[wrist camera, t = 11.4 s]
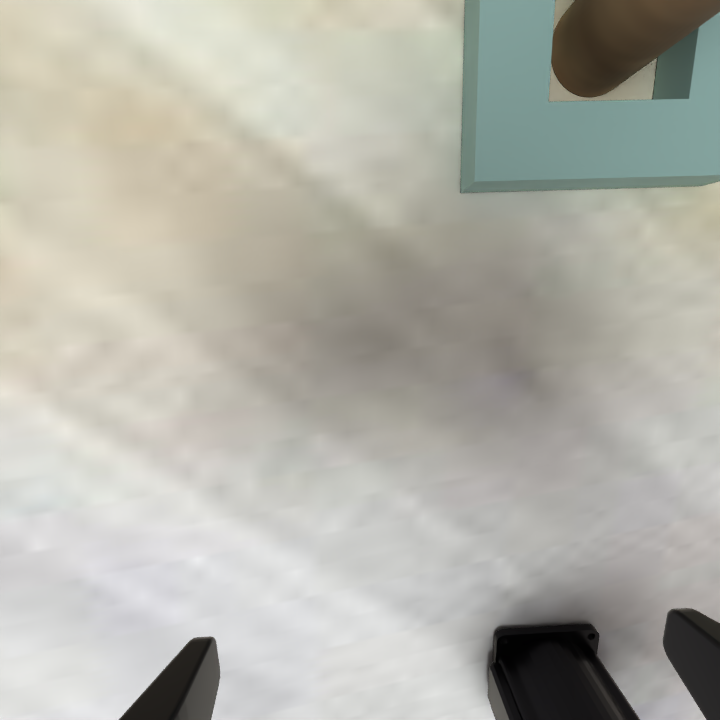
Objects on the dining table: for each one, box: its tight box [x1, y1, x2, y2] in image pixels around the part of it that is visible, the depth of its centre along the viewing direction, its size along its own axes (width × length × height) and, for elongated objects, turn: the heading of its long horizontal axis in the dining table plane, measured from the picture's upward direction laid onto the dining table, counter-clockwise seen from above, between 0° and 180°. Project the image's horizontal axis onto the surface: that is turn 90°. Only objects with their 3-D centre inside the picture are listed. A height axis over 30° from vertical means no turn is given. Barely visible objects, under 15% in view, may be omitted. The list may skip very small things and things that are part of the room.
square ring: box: [460, 0, 720, 193], centre depth 16 cm, size 12×12×2 cm
